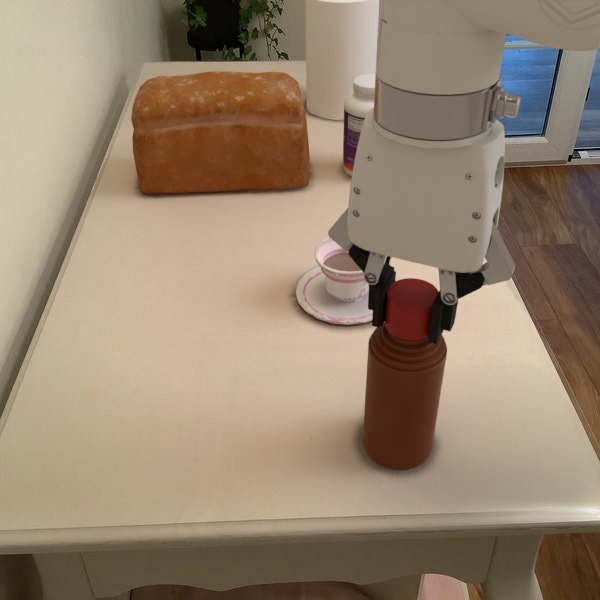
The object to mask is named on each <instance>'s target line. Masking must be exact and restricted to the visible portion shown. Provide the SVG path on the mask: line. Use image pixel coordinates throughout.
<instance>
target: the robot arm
mask: <svg viewBox="0 0 600 600" xmlns="http://www.w3.org/2000/svg"><path fill="white" fill-rule="evenodd" d="M507 36H511V37H515V38H517V39H520V40H525V41H526V42H531V43H534V44H537V45H541V46H545V47H549V48H552V49H558V50H562V51H574V52H588V51H595V50H600V0H379V17H378V37H377V56H376V77H375V96H374V107H373V108H372V109H371V110H370V111H369V112H368V114H367V115H366V117H365V119H364V122H363V126H362V129H361V133H360V138H359V142H358V146H357V151H356V156H355V161H354V167H353V173H352V176H351V179H350V186H349V187H350V188H349V195H348V206H347V208H346V209H345V211H344V212H342V214H341V215H340V216H339V218H338V219H337V220H336V221H335V222H334V223H333V224H332V226H331V227H330V229H329V230H328V231H327V235H328V237H330V238H331V239H332V240H333V241H335V242H336V243H337V244H338V245H339V246H341V247H342V248H343V249H344V250H347V251H348V252H349V256H350V257H351V258H352V259H353V261H354V262H355V263H356V264H357V265H358V267H359V268H360V269H361V270H362V271H363V272H364V280H365V282H366V283H368V284H369V296H368V309H369V310H373V316H372V321H371V326H372V327H374V328H377V327H378V328H379V327H382V325H383V323H384V322H385V313H386V300H387V290H388V289H389V287H390V285H391V284H392V283H394V282H395V281H396V275H397V271H395V266H392V265H391V261H392V259H393V258H395V259H399V260H401V261H406V262H410V263H415V264H420V265H424V266H429V267H431V268H435V269H437V270H438V280H439V289H438V294H437V296H436V298H435V300H434V302H433V306H432V314H431V321H430V329H429V337H428V340H430V342H431V343H434V344H437V343H438V341H439V339H440V337H441V335H442V336H443V333H444V331H446V332H451V331H452V329H453V327H454V325H455V321H456V316H457V310H458V303H459V299H462V298H463V297H464V298H465V297H466V296H468V295H470V294H472V293H474V292H476V291H478V290H480V289H481V288H482V287H484V286H492V285H496V284H499V283H502V282H507V281H509V280H511V279H512V277H513V274H514V272H515V269H516V264H515V262H514V260H513V257H512V255H511V253H510V251H509V250H508V247H507V245H506V243H505V242H504V240H503V237H502V236H501V233H500V231H499V229H498V226H499V219H500V212H501V206H502V205H501V204H502V196H503V190H504V189H503V188H504V180H505V179H504V176H505V163H506V137H505V135H506V134H505V126H504V124H503V123H502V122H501V121H500V120H503V119H504V118H508V119H515V120H516V119H517V117H518V114H519V110H520V106H521V101H522V96H521V95H514V94H510V91H504V86H503V85H501V84H502V80H503V79H502V78H503V76H500V75H501V68H502V63H503V57H504V51H505V44H506V39H507ZM498 119H500V120H498ZM484 259H485V260H486V262H484Z"/></svg>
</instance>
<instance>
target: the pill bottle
mask: <svg viewBox="0 0 600 600" xmlns="http://www.w3.org/2000/svg"><path fill="white" fill-rule="evenodd" d="M375 77H376V74H366V75H361V76H358V77H356V78H355V79H354V81H353V91H354V92H353V93H351V94H350V95H349V96H348V97H347V98H346V100H345V102H344V120H343V136H342V137H343V138H342V139H343V140H342V141H343V142H342V167H343V171H345V173H346V174H347V175H349V176H350V177H352V173H353V167H354V161H355V156H356V151H357V146H358V142H359V138H360V133H361V129H362V126H363V122H364V119H365V117H366V115H367V114H368V112H369V111H370V110H371V109H372V108H373V107H374V96H375Z"/></svg>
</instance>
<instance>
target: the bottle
mask: <svg viewBox="0 0 600 600" xmlns="http://www.w3.org/2000/svg"><path fill="white" fill-rule="evenodd" d="M447 354H448V345H447V343H446V341H445V338H444V336H443V334H442V335H441V337H440V339H439V341H438V343H437V344H434V343H431V342H430V340H428V337H427V338H425V339H422V340H417V341H408V340H403V339H400V338H397V337H395V336H393V335H392V334H391V333H389V331H388V330H387V329H386V326H385V322H384V323H383V325H382V327H379V328H378V327H375V329H374V330H373V331H372V334H371V335H370V337H369V339H368V345H367V361H366V378H365V380H366V381H365V396H364V400H365V401H364V410H363V411H364V413H363V427H362V429H363V430H362V445H363V449H364V451H365V453H366V454H367V456H368V457H369V458H370V459H371V460H372V461H373V462H374V463H376V464H378V465H379V466H381V467H384V468H386V469H390V470H395V471H406V470H411V469H415V468H417V467H420V466H421V465H422V464H424V463H425V462H426V461H427V460H428V459H429V457H430V456H431V454H432V452H433V451H432V450H433V444H434V437H435V431H436V425H437V419H438V412H439V406H440V399H441V393H442V388H443V381H444V373H445V367H446V361H447Z"/></svg>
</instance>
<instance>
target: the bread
mask: <svg viewBox="0 0 600 600" xmlns="http://www.w3.org/2000/svg"><path fill="white" fill-rule="evenodd" d="M300 88H301V87H300V85H299V82H298V80H296V79H295V78H294V77H293V76H292V75H290V74H289V73H287V72H280V71H263V72H262V71H261V72H244V71H228V70H227V71H221V70H219V71H214V70H213V71H204V72H197V73H191V74H185V75H161V76H156V77H152V78H149V79H146V80H145V82H144V83H142V84H141V85H140V86H139V89H138V91H137V94H136V95H135V98H134V101H133V105H132V108H131V110H132V111H131V117H130V121H131V125H132V128H133V131H132V137H131V138H132V139H131V140H132V155H133V161H134V165H135V172H136V177H137V183H138V186H139V187H138V188H139V189H140V191H141V192H142V193H145V194H146V195H150V194H151V195H152V194H156V195H157V194H159V195H160V194H187V193H190V194H191V193H211V192H212V193H217V192H229V191H230V192H231V191H240V190H241V191H242V190H279V189H291V188H292V189H293V188H303V187H305V186H307V185H309V183H310V145H309V144H310V143H309V132H308V121H307V114H306V111H305V108H304V100H303V98H302V91H301V89H300Z"/></svg>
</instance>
